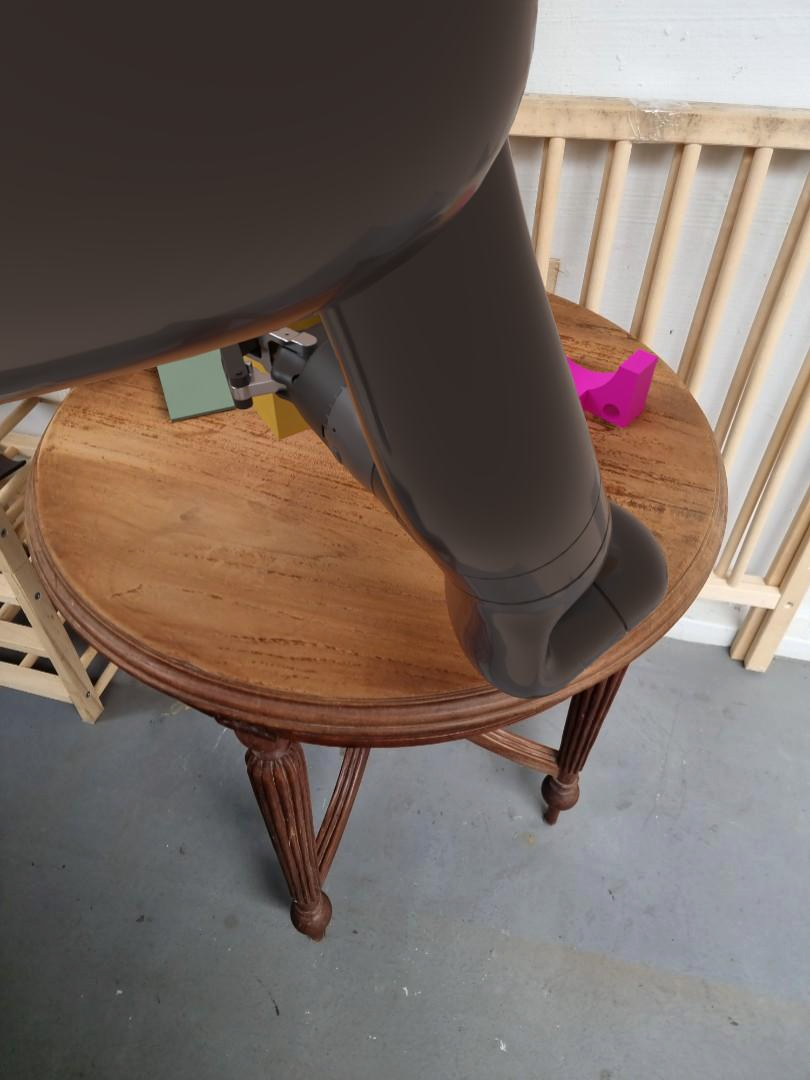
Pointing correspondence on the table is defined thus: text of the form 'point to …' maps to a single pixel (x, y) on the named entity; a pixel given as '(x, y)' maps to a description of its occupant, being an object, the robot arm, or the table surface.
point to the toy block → (616, 388)
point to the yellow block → (277, 410)
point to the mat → (195, 386)
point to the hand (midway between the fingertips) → (265, 296)
